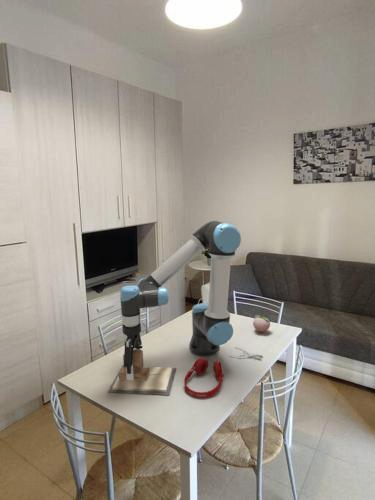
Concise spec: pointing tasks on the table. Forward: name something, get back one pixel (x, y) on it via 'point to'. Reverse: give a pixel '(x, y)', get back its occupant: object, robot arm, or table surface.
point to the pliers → (253, 355)
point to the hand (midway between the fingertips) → (134, 370)
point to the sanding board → (146, 383)
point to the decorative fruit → (261, 323)
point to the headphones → (200, 368)
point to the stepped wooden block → (136, 367)
